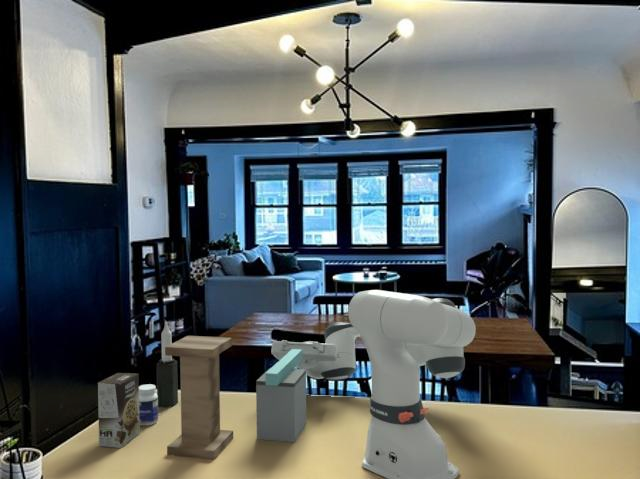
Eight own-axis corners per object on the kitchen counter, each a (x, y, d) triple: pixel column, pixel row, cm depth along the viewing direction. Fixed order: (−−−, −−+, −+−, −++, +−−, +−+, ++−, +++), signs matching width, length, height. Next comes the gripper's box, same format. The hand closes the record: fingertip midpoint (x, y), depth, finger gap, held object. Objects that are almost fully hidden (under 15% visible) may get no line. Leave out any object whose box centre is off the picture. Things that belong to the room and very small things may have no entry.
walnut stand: (189, 434, 142) (188, 335, 141) (233, 438, 139) (231, 337, 138) (167, 454, 130) (165, 347, 129) (214, 459, 128) (212, 349, 126)
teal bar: (292, 359, 158) (292, 349, 158) (302, 359, 158) (302, 349, 157) (265, 385, 135) (265, 373, 135) (277, 385, 134) (277, 373, 134)
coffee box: (121, 448, 134) (120, 383, 133) (98, 446, 135) (96, 382, 134) (141, 433, 143) (139, 372, 142) (118, 431, 144) (117, 371, 143)
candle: (155, 406, 162) (154, 323, 161) (163, 400, 167) (162, 320, 166) (172, 407, 162) (170, 323, 160) (179, 401, 167) (177, 320, 165)
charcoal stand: (271, 421, 151) (270, 367, 150) (306, 423, 149) (305, 369, 148) (256, 438, 139) (256, 380, 138) (294, 442, 137) (294, 383, 136)
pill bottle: (132, 425, 148) (131, 389, 148) (142, 417, 154) (141, 382, 153) (152, 426, 147) (151, 390, 147) (161, 418, 153) (161, 383, 152)
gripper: (340, 367, 169) (333, 356, 157) (277, 364, 173) (265, 352, 161) (342, 348, 172) (335, 334, 160) (280, 344, 176) (268, 331, 164)
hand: (299, 343), depth 161 cm, fingers open, 8 cm apart
